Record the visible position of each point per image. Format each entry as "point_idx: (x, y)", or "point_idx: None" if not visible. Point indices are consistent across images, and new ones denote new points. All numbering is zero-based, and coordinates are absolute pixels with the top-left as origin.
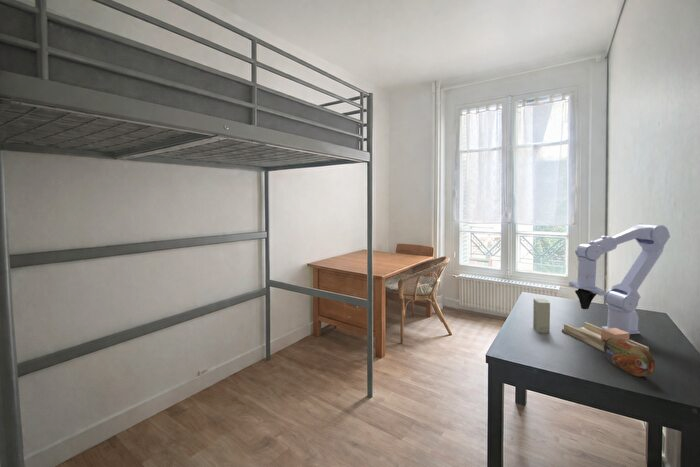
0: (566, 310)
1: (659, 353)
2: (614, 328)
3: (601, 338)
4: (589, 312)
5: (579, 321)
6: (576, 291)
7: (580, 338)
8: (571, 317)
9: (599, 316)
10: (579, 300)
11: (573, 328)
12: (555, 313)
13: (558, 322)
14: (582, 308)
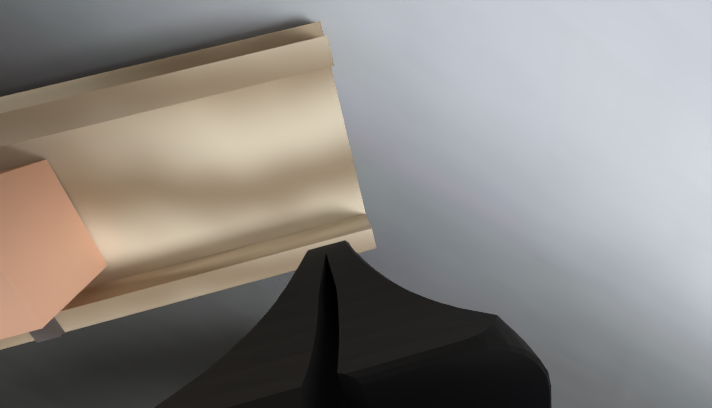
0: (680, 280)
1: (36, 394)
2: (17, 311)
3: (16, 169)
4: (617, 373)
5: (502, 258)
6: (444, 346)
7: (136, 66)
8: (572, 248)
9: (555, 388)
10: (372, 273)
11: (220, 61)
12: (658, 189)
13: (503, 112)
14: (327, 245)
